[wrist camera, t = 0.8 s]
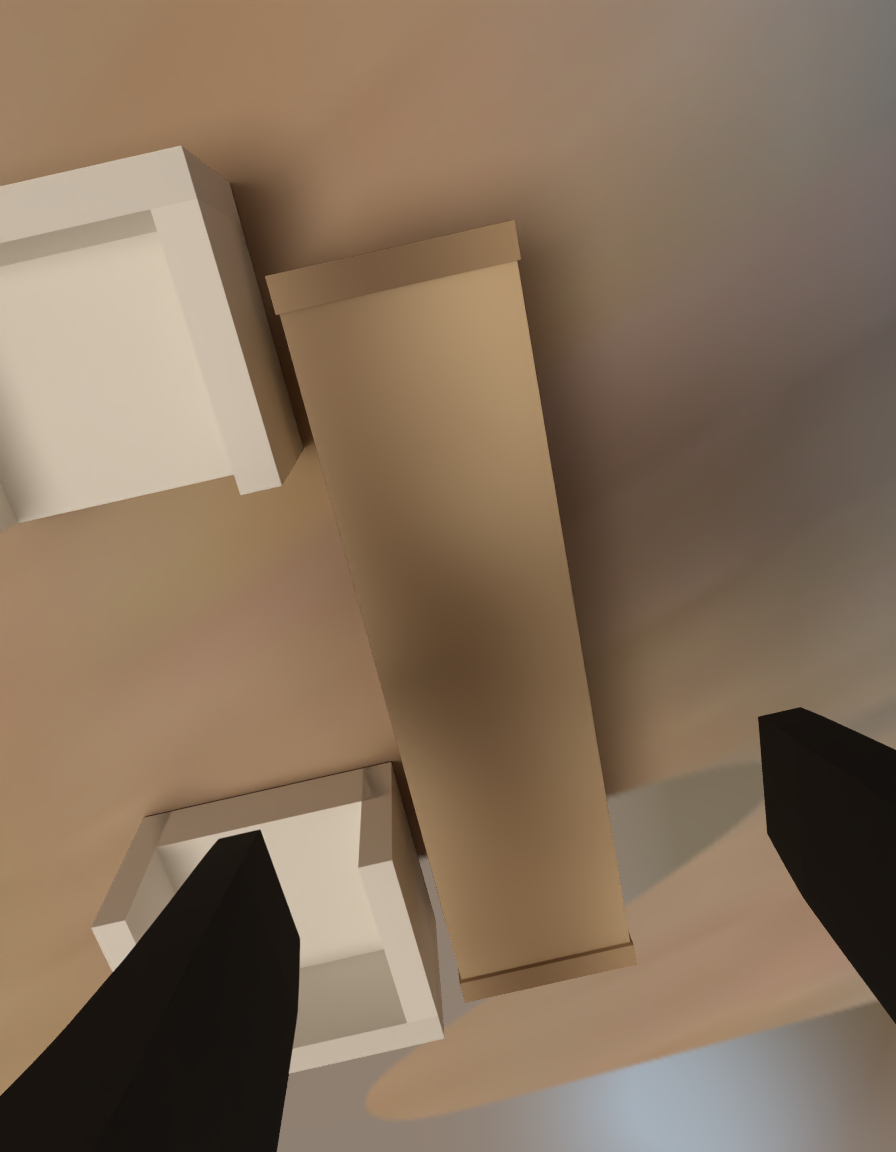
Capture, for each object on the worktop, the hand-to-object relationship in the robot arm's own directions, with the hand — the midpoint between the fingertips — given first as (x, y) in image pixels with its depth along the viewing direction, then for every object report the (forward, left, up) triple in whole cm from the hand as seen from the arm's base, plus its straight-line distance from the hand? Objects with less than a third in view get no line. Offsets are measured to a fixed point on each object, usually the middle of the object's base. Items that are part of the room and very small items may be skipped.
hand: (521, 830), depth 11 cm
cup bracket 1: (+6, -7, -10) cm, 13 cm away
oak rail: (0, 0, -10) cm, 10 cm away
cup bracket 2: (+6, +7, -10) cm, 13 cm away
